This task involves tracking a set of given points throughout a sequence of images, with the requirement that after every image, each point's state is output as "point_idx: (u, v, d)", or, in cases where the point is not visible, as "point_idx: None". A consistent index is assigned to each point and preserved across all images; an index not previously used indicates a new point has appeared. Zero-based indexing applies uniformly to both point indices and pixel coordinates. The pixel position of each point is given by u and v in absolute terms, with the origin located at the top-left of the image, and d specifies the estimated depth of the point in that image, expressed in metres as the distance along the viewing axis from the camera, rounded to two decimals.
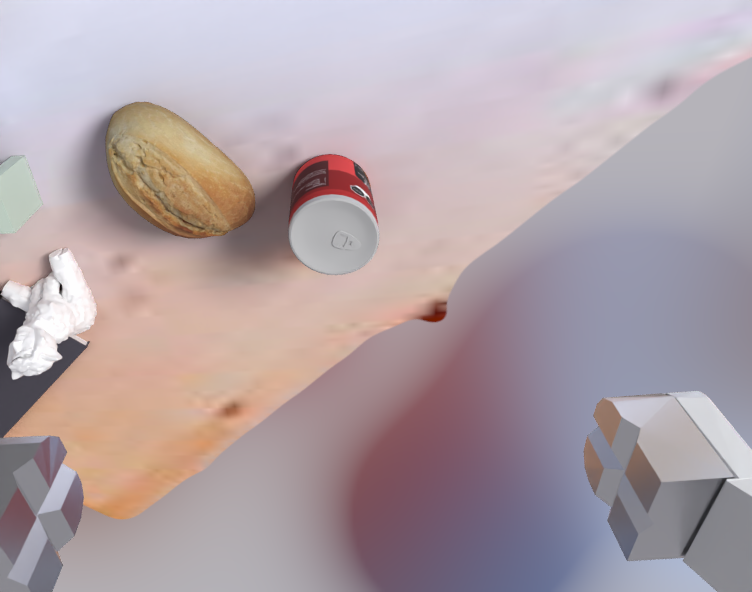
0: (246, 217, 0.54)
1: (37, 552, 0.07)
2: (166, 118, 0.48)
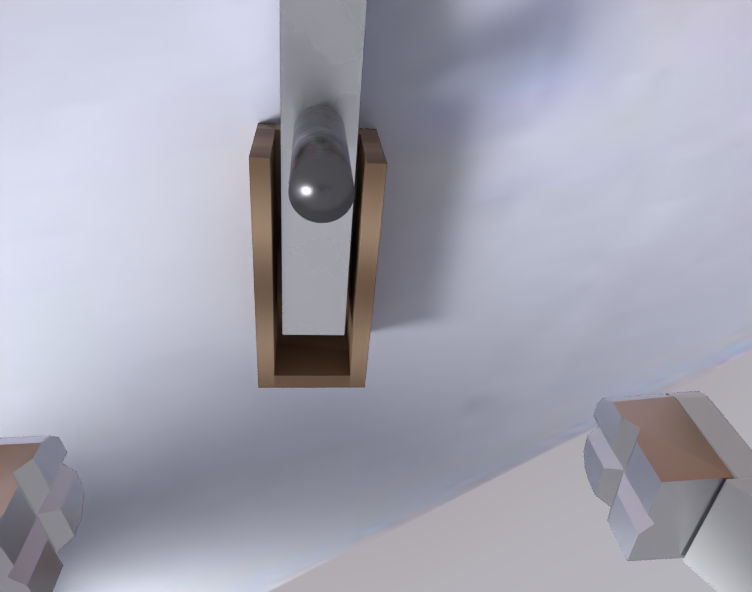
0: None
1: (37, 552, 0.07)
2: None
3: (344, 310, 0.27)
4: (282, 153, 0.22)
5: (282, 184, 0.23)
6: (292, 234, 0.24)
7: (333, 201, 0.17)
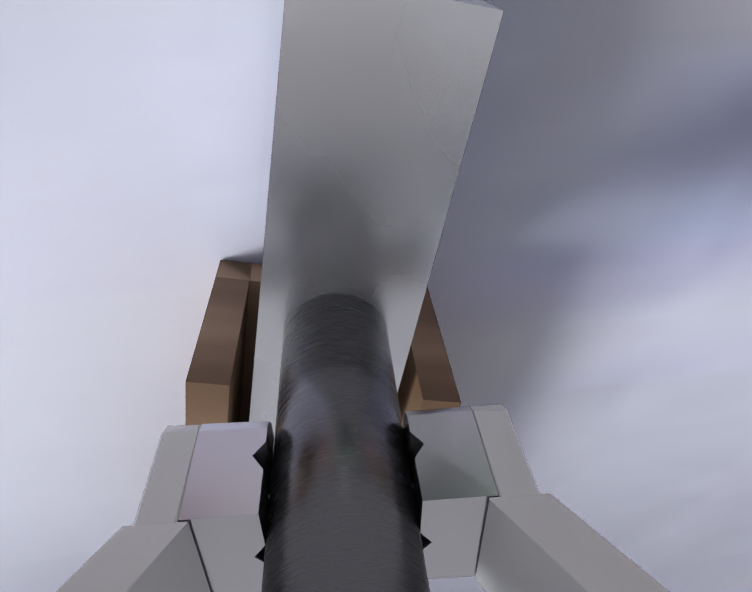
0: None
1: None
2: None
3: None
4: (256, 368, 0.11)
5: (252, 414, 0.12)
6: None
7: None
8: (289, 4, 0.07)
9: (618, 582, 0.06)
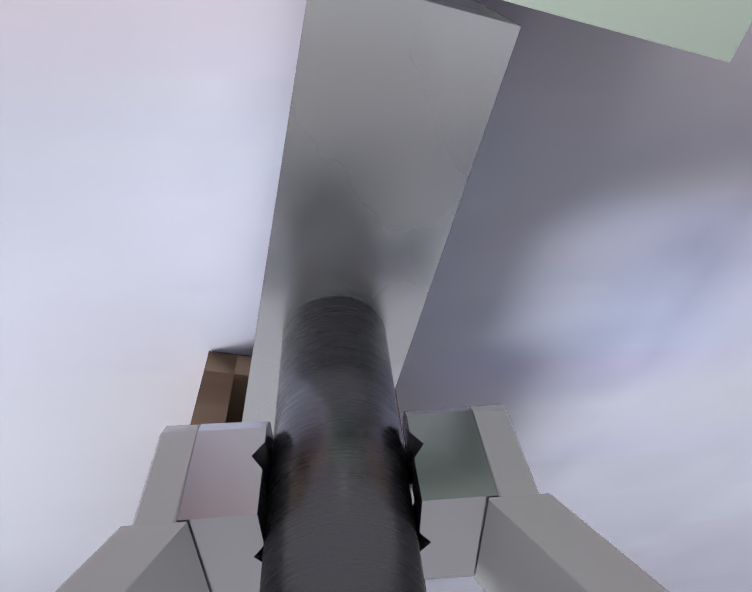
0: None
1: None
2: None
3: None
4: (253, 366, 0.11)
5: (245, 412, 0.12)
6: None
7: None
8: (311, 7, 0.08)
9: (617, 582, 0.06)
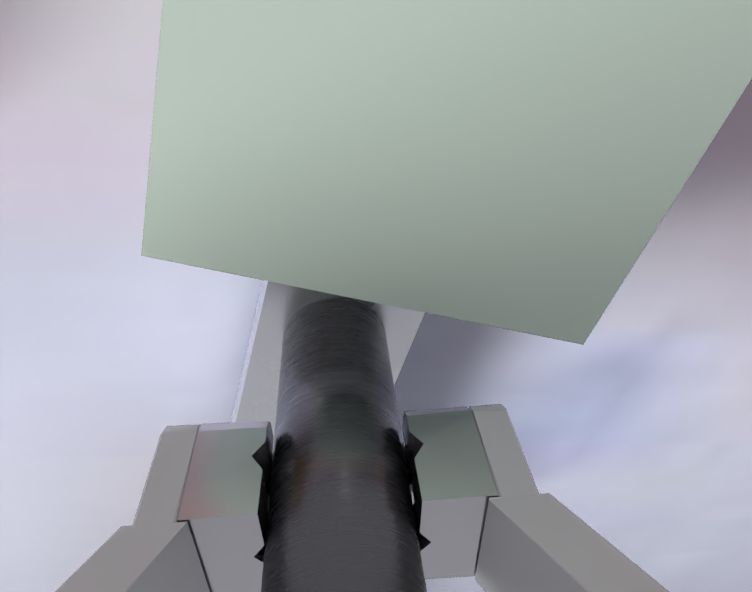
0: None
1: None
2: None
3: None
4: (251, 365, 0.11)
5: (240, 411, 0.12)
6: None
7: None
8: None
9: (618, 582, 0.06)
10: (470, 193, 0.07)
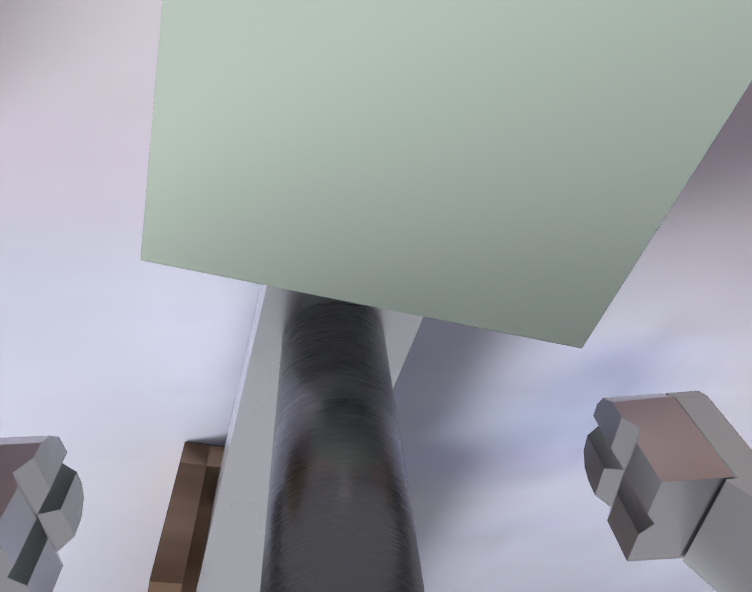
0: None
1: (37, 552, 0.07)
2: None
3: None
4: (251, 367, 0.11)
5: (239, 413, 0.12)
6: (241, 484, 0.13)
7: None
8: None
9: None
10: (469, 198, 0.07)
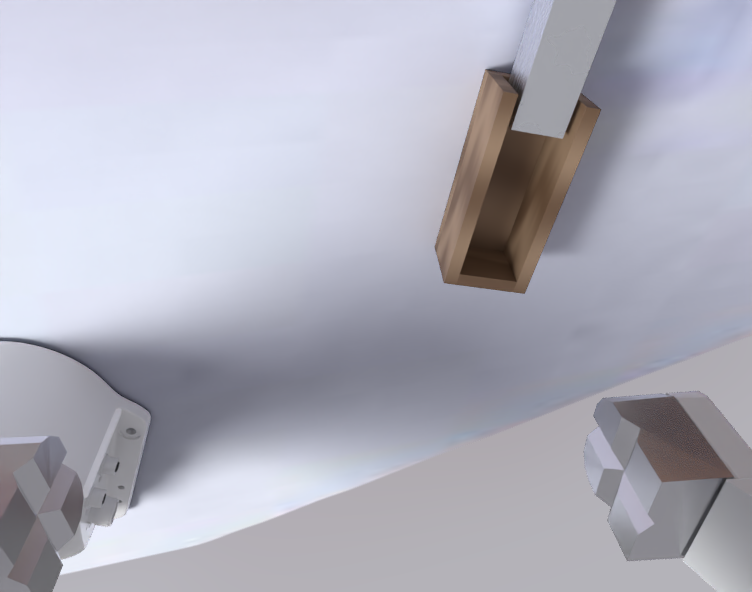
0: None
1: (37, 552, 0.07)
2: None
3: (571, 112, 0.30)
4: None
5: None
6: (555, 22, 0.27)
7: None
8: None
9: None
10: None
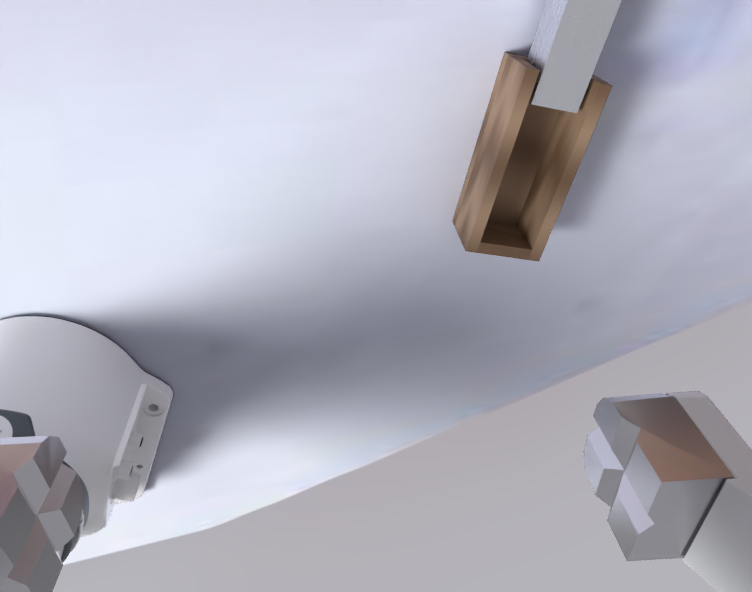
0: None
1: (37, 552, 0.07)
2: None
3: (585, 88, 0.33)
4: None
5: None
6: (574, 5, 0.30)
7: None
8: None
9: None
10: None
